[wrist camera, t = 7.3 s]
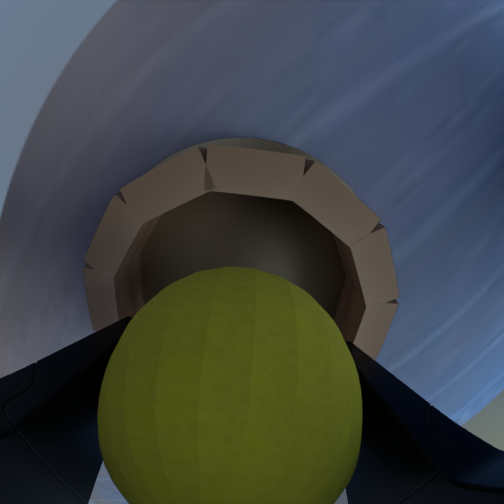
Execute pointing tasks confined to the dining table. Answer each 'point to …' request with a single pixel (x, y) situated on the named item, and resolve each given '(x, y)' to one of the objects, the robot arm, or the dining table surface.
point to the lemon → (231, 396)
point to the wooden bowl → (245, 234)
